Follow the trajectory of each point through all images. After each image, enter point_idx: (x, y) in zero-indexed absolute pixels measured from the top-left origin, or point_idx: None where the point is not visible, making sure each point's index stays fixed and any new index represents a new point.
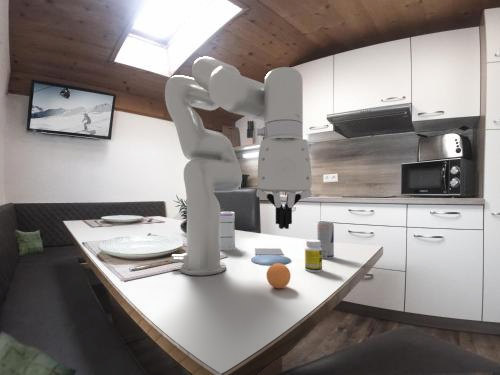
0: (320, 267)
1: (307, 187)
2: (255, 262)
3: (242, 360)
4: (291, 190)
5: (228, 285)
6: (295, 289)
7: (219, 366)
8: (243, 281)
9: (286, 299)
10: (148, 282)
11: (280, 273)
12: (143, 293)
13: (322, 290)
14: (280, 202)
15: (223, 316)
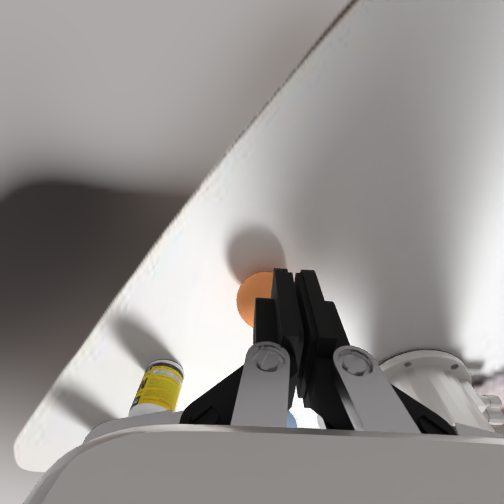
0: (148, 369)
1: (90, 453)
2: (289, 414)
3: None
4: (282, 428)
5: (373, 300)
6: (228, 274)
7: None
8: None
9: (259, 224)
10: None
11: (265, 286)
12: None
13: (169, 266)
14: (342, 375)
15: (414, 146)
